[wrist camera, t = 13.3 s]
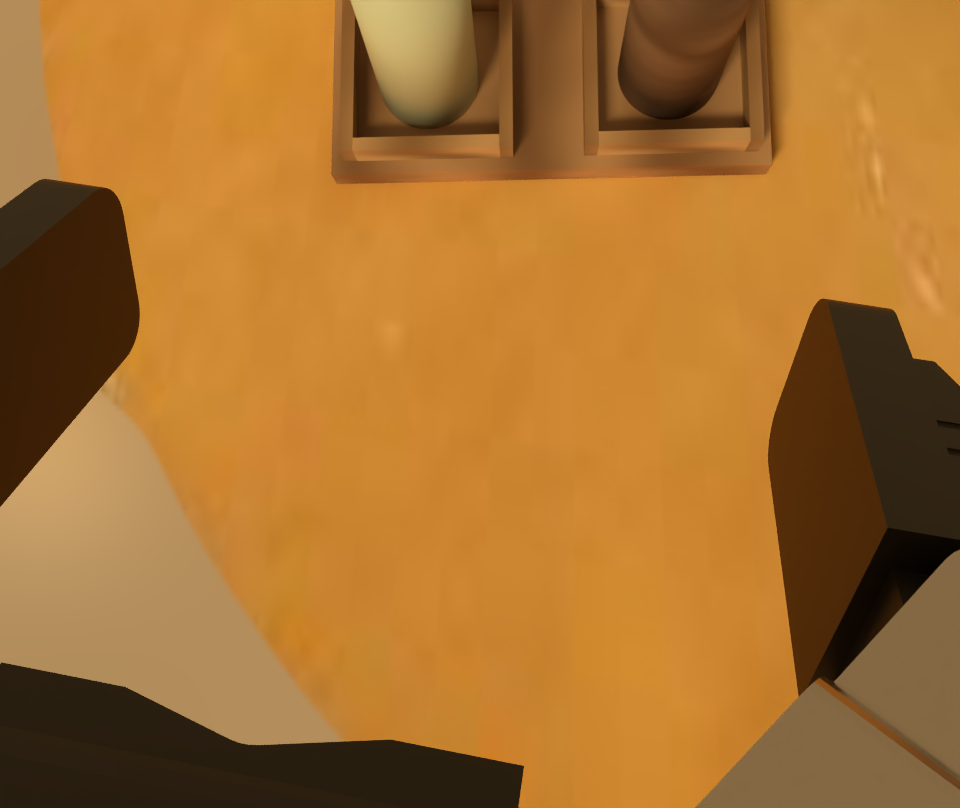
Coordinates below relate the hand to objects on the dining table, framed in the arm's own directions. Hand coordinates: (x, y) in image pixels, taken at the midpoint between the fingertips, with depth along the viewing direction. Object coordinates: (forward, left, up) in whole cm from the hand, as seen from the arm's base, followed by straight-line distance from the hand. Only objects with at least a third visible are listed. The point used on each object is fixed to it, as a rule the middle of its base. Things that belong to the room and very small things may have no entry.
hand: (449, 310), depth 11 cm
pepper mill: (-7, -18, -29) cm, 35 cm away
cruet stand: (-2, -18, -31) cm, 36 cm away
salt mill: (+4, -18, -29) cm, 35 cm away
